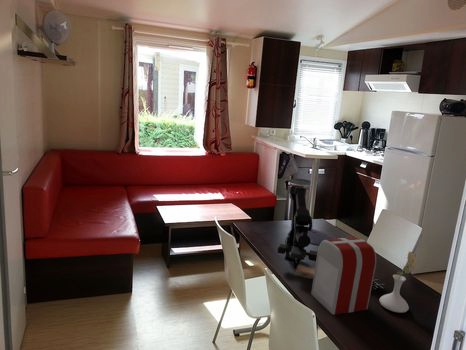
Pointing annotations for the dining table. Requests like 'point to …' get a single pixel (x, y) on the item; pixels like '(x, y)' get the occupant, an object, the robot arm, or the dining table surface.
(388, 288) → the dining table surface
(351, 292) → the striped gift box
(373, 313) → the dining table surface
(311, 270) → the terracotta tile
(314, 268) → the birch dock
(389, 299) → the flower in vase
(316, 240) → the toy spaceship
